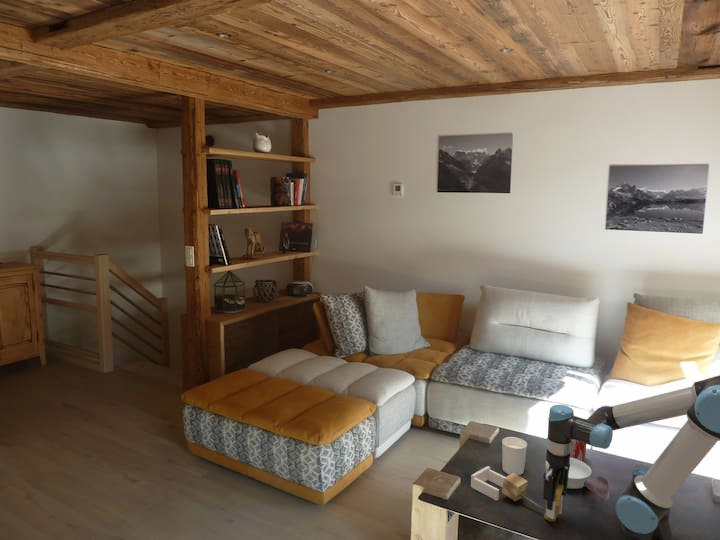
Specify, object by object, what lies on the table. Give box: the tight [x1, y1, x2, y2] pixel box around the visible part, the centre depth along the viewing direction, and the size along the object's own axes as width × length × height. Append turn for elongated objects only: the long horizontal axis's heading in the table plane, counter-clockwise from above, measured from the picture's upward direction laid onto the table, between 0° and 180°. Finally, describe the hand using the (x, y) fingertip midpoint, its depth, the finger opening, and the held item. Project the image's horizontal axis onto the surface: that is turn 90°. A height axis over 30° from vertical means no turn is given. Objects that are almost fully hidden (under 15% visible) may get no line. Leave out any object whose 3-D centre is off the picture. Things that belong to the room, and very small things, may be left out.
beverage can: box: [570, 439, 587, 463], centre depth 225 cm, size 6×6×12 cm
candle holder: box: [501, 436, 528, 476], centre depth 218 cm, size 10×10×12 cm
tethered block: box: [501, 473, 563, 523], centre depth 191 cm, size 20×6×13 cm, turn 41°
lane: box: [470, 465, 506, 502], centre depth 204 cm, size 12×10×5 cm
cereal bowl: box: [544, 457, 593, 489], centre depth 209 cm, size 17×17×7 cm
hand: (553, 514), depth 185 cm, fingers closed on tethered block, 4 cm apart
